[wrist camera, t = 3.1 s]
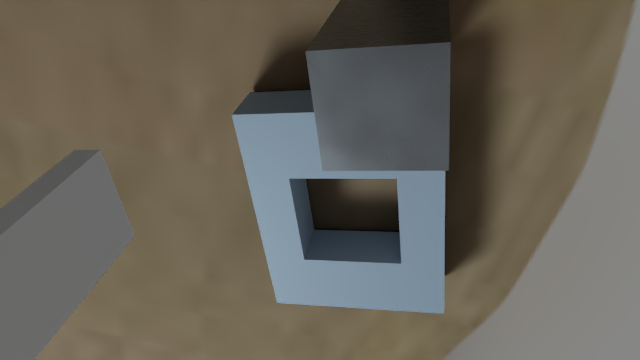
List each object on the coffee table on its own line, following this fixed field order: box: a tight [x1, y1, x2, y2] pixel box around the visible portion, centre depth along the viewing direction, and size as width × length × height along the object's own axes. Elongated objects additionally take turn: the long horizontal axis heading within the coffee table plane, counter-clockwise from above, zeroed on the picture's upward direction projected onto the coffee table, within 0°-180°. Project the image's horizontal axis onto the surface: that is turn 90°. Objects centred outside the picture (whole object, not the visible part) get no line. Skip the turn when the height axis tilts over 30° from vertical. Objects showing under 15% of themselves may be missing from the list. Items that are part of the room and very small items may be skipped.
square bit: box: [305, 0, 451, 171], centre depth 20 cm, size 4×4×12 cm
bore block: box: [232, 90, 445, 314], centre depth 30 cm, size 14×11×3 cm
